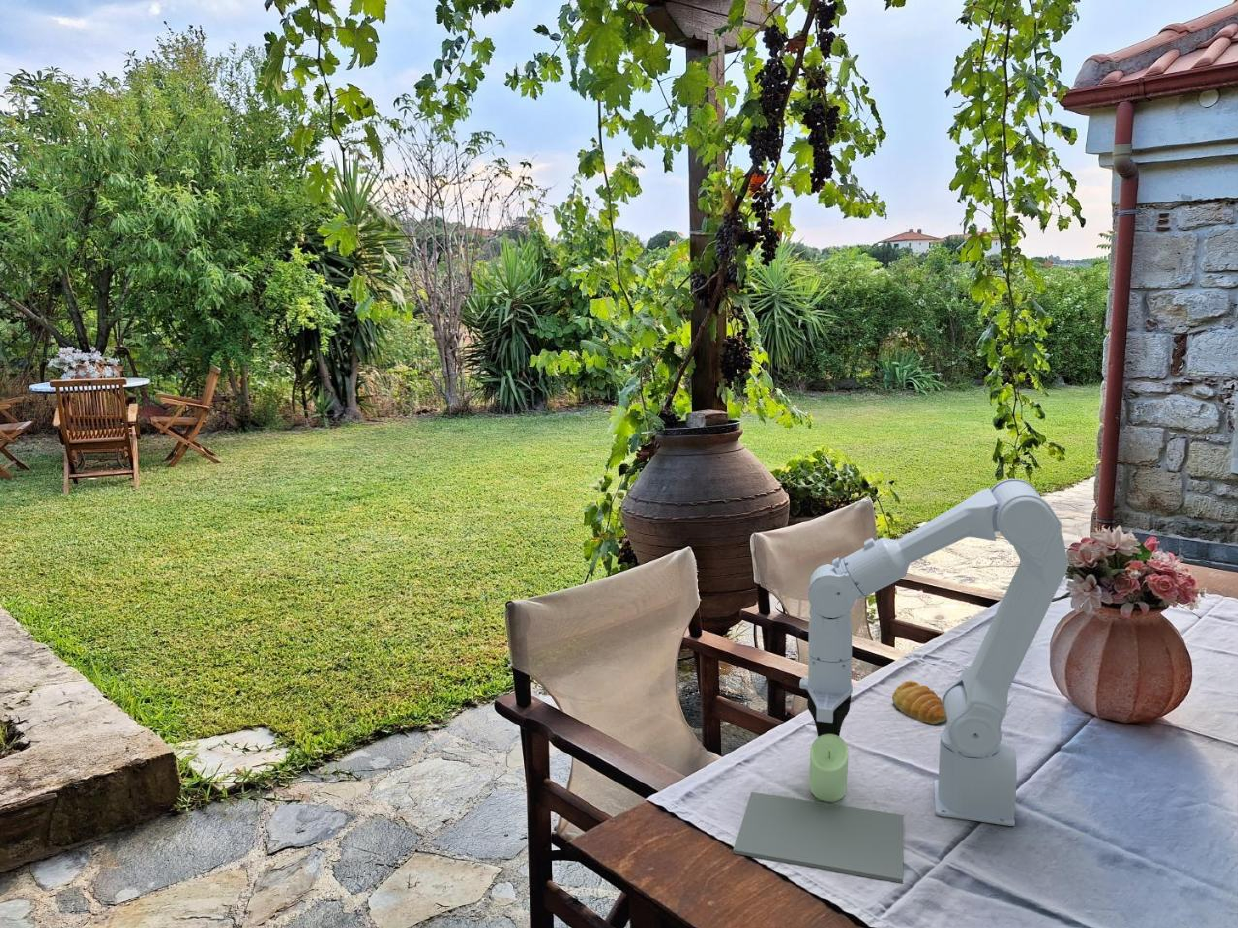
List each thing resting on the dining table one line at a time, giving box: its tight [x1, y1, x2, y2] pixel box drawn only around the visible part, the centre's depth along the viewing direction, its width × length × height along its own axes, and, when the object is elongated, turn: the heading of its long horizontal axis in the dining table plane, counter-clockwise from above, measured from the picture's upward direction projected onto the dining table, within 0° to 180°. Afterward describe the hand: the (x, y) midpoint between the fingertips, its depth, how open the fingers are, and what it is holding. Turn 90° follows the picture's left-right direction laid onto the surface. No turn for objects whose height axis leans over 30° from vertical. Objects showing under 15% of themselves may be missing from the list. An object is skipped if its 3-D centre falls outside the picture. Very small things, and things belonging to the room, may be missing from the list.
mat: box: [733, 791, 905, 884], centre depth 109 cm, size 20×13×1 cm, turn 72°
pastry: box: [891, 680, 947, 725], centre depth 139 cm, size 9×7×4 cm
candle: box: [808, 734, 850, 803], centre depth 116 cm, size 5×5×8 cm
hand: (828, 745), depth 118 cm, fingers closed
